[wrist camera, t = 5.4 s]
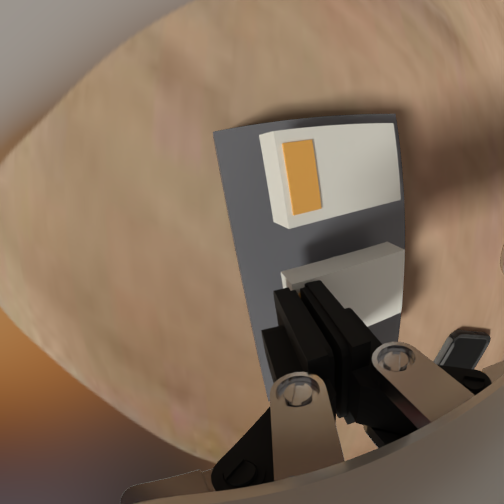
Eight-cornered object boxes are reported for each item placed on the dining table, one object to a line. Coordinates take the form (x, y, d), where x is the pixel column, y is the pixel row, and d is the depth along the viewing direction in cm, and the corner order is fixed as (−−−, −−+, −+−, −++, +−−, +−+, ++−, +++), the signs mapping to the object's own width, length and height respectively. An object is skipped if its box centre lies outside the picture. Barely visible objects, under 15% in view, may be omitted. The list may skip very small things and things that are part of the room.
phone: (377, 446, 24) (457, 333, 20) (373, 439, 25) (449, 327, 21) (423, 436, 26) (493, 336, 21) (419, 430, 27) (487, 331, 22)
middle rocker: (380, 238, 12) (405, 250, 11) (380, 296, 13) (402, 313, 12) (276, 266, 11) (292, 285, 10) (285, 329, 12) (300, 352, 11)
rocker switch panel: (360, 119, 14) (395, 113, 11) (370, 333, 19) (394, 363, 16) (213, 137, 14) (212, 132, 10) (259, 363, 18) (268, 401, 15)
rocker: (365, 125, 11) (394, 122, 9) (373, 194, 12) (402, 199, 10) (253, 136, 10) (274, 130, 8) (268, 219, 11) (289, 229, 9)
